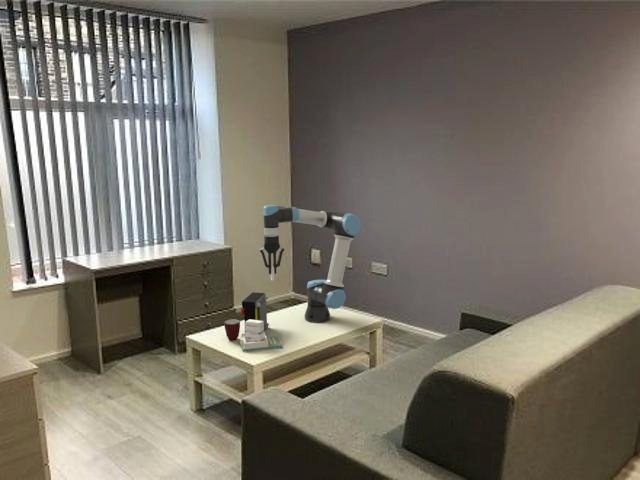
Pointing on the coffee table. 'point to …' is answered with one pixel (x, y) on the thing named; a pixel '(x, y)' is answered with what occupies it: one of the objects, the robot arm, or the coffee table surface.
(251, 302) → the electrical component
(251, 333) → the ink box
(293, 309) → the coffee table surface
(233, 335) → the mug
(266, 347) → the board
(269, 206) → the robot arm
